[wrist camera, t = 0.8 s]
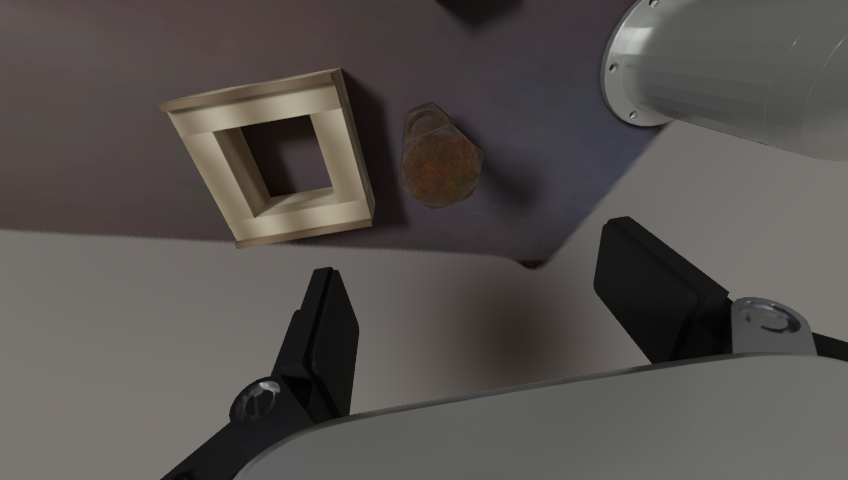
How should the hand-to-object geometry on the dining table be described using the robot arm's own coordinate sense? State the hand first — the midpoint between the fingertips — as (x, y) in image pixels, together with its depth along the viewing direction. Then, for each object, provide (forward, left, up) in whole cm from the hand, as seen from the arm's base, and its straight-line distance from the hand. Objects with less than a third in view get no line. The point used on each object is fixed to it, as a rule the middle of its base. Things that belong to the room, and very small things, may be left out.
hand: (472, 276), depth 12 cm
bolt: (0, 0, -26) cm, 26 cm away
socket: (+14, +1, -26) cm, 29 cm away
